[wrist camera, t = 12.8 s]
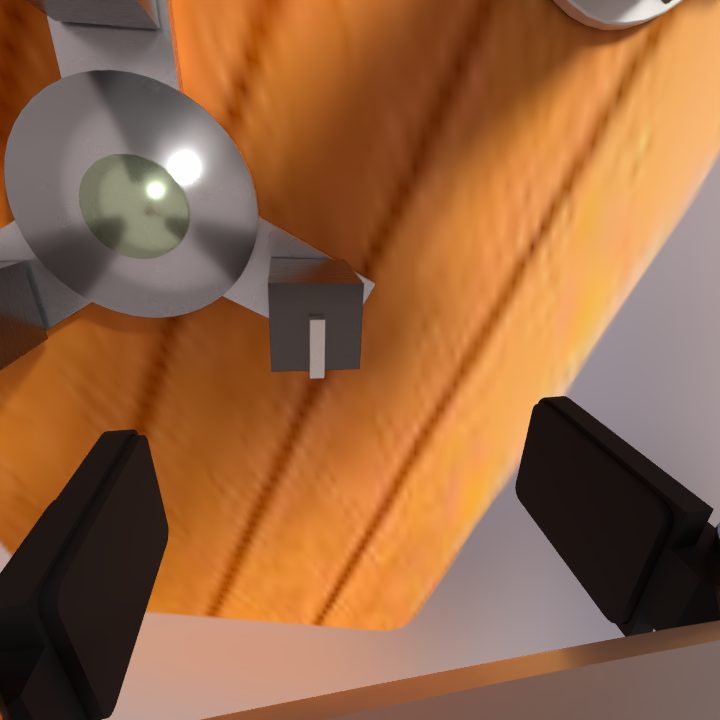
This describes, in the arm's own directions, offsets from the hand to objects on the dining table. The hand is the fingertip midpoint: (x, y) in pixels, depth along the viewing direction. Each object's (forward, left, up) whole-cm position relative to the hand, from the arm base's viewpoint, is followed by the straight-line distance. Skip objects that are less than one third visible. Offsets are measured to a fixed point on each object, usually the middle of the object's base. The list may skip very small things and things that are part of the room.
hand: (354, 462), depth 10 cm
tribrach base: (+9, -7, -18) cm, 21 cm away
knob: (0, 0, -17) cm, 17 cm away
